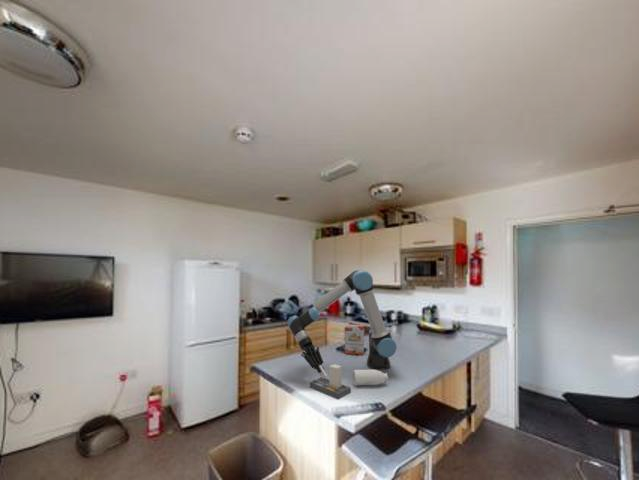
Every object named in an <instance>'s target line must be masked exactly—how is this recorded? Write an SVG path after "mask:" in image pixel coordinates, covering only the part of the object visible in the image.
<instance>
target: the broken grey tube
mask: <svg viewBox="0 0 639 480" xmlns="http://www.w3.org/2000/svg"><path fill="white" fill-rule="evenodd" d="M352 381H353V384H354V386H355V387H357V386H378V385H381V384H383V383H387V381H389V377H388V372H385V373H384V372H383V371H381V370H379V369H353V370H352Z"/></svg>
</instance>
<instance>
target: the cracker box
mask: <svg viewBox="0 0 639 480" xmlns="http://www.w3.org/2000/svg"><path fill="white" fill-rule="evenodd" d="M344 333H345V334H344V336H345V337H344V340H345V341H344V343H345V344H344V346H345V347H344V352H345V354H346V355H356V354H358V355H359V356H361V355H362V356H364V355H365V326H364V324H351V323H350V324H349V323H348V324H347V323H346V324H345V326H344ZM358 355H357V356H358Z"/></svg>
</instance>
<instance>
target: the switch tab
mask: <svg viewBox="0 0 639 480" xmlns="http://www.w3.org/2000/svg"><path fill="white" fill-rule="evenodd" d="M328 370H329V372H328V373H329V378H328V379H329V385H331V386H333V387H336V388H340V387H342V384H343V381H342V380H343V379H342V378H343V377H342V375H343V373H342V372H343V369H342V365H338V364H335V363H334V364H331V365H329V369H328Z"/></svg>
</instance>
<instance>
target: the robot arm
mask: <svg viewBox="0 0 639 480" xmlns="http://www.w3.org/2000/svg"><path fill="white" fill-rule="evenodd" d="M373 282H374V281H373V276H372V275H371V273H370V272H368V271H366V270H363V269H362V270H361V269H359V270H353V271H352V272H351V273H350V274H348V275H347V276H346V277H345V278H343V280H342V282H341V283H339V284H338V285H337V286H335V287H333V288H332V289H331V290H330V291H328V292H327V293H325V294H324V295H323V296H321V297H320V298H318V299H316V301H314V302H313V303H311V304H310V305H309V306H306V307H305V308H304V309H303V310H302V314H301V315H300V316H297V315H293V316H290V317H289V318H288V319H287V321H286V323H287V326H288V327H289V330H290V331H291V333H292V335H293V337H294V338H295V340H296V342H297V343H298V346H299V348H300V349H301V350H302V352H301V353H300V356H301V357H302V358H303V359H304V360H305V361H306V362H307V364H308V365H309V366H310V367H311V368H312V369H314V370H316V371H317V373H318V374H319V376H320V377H322V379H325V378H327V377H328V374H327V373H326V370H325V368H324V366H323V364H324V360H323V357H322V355H321V353H320V347H315V345H313V341H312V339H311V337H310V335H309V334H308V332H307V330H306V328H307V327H308V326H310V325H311V324H313V323H314V322H316V321H317V320H318V319H320V317H321V316H320V313H321V312H323V311H325V309H327V308H329V306H331V305H333V303H335V302H337V301H338V300H339V299H341V298H342V297H344V296H345V295H346V294H348V293H349V292H353V291H355V294H356V296H359V298H360V302H361V304H362V306H363V309H364V312H365V315H366V318H367V321H368V323H369V327H370V330H369V331H368V347H369V348H368V350H369V351H368V352H369V353H368V356H367V359H366V366H367V367H369V368H370V369H372V370H387V369H389V368H390V367H391V361H390V358H391V357H393V356H394V355H395V353H396V352H397V347H398V346H397V344H396V341H395V340H394V339H393V337H392V334H391V332H390V330H389V329H387V328H386V326H385V322H384V320H383V319H384V318H383V317H382V314H381V311H380V308H379V306H378V303H377V301H376V297H375V293H374V290H375V287H374V283H373Z"/></svg>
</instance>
